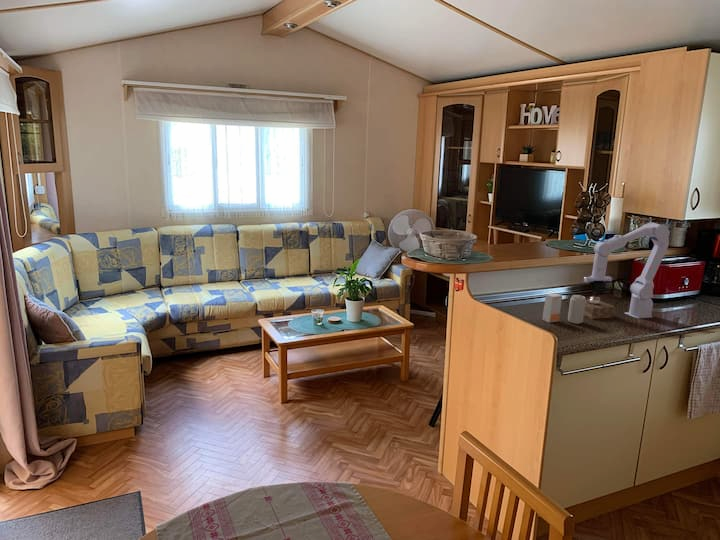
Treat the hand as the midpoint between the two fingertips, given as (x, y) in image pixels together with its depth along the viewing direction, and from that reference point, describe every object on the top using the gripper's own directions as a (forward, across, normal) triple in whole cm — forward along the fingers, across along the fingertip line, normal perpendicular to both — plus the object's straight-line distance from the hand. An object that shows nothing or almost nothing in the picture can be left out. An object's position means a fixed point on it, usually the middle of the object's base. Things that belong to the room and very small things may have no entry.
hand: (595, 296), depth 259 cm
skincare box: (+9, +28, +5) cm, 30 cm away
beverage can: (+9, +18, +9) cm, 22 cm away
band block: (+8, 0, 0) cm, 8 cm away
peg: (+4, 0, 0) cm, 4 cm away
